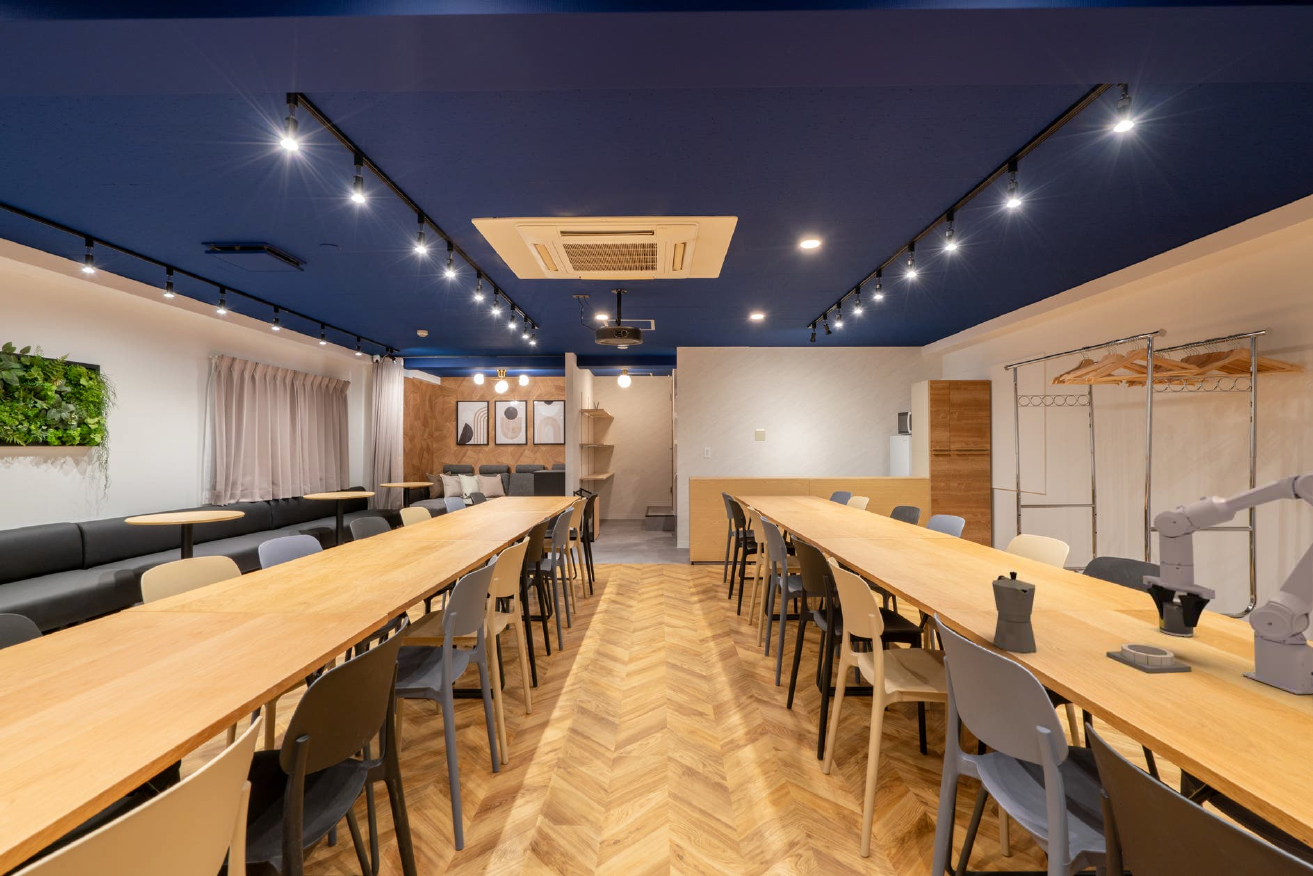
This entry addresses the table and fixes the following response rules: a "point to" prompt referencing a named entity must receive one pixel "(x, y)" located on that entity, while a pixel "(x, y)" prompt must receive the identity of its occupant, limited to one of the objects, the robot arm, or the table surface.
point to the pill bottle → (1161, 623)
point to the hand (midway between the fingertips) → (1178, 623)
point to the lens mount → (1148, 658)
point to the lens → (1174, 618)
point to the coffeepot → (1014, 614)
